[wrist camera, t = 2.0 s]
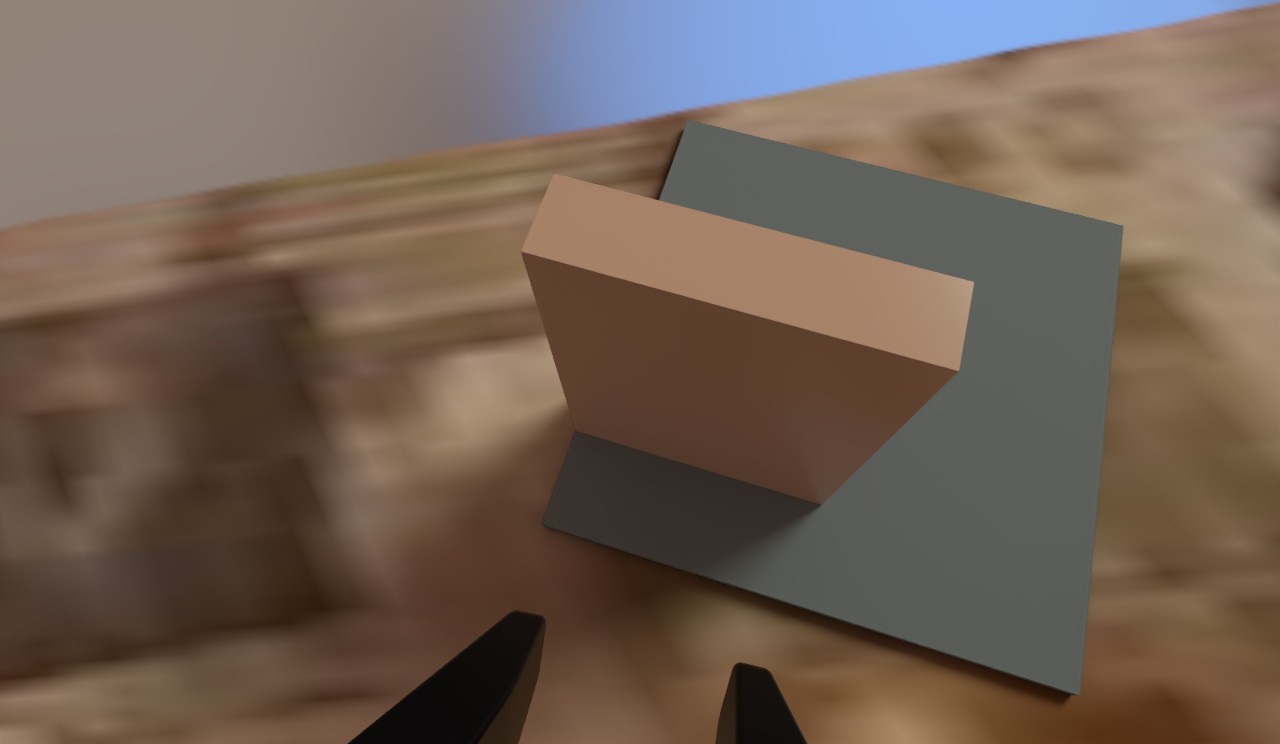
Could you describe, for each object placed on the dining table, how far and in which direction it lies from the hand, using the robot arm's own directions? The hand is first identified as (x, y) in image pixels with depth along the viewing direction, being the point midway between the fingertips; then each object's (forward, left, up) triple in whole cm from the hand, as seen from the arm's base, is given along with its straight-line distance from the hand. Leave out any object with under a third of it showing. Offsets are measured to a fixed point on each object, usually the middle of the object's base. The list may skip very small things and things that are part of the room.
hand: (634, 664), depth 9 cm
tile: (+7, 0, -13) cm, 15 cm away
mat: (+11, -4, -14) cm, 18 cm away
